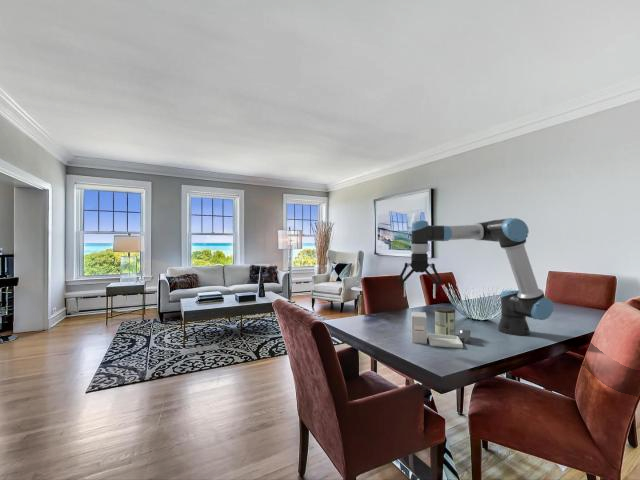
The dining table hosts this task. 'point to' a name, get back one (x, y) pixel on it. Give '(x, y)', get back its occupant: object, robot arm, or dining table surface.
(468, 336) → the cartridge
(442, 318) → the coffee can
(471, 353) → the dining table surface
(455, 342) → the tray
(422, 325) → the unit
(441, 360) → the dining table surface
